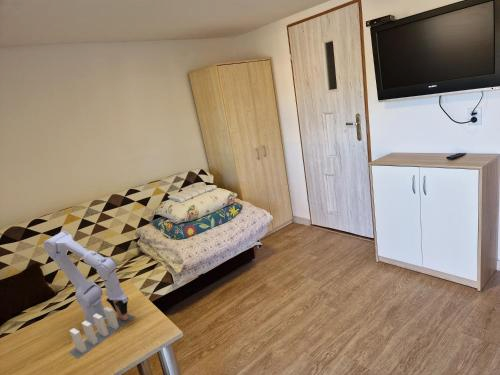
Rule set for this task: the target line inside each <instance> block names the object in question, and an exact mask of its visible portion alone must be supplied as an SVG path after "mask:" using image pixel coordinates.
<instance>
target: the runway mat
mask: <svg viewBox="0 0 500 375" xmlns="http://www.w3.org/2000/svg"><path fill="white" fill-rule="evenodd" d="M127 316H128V318H127V319H126V320H123V319H121V318H118V317H116V319H117V322H118V325H119V327H118V328H117V329H114V328H112V327H110V326H109V324H107V325H106V327H107V330H108V333H109V334H108V335H107V336H106V337H104V336H102V335H101V334H99V333H98V331H97V332H95V335H96V338H97V340H98V342H97V343H96V344H95V345H93V344H92V343H90V342H88V340H87V339H86V340H83V342H84V344H85V347H86V351H85V352H83V353H81V352H80V351H78V350H77V349H76V347H75V346H74V348H73V349H71V350H69V351H68V354H70V355H71V356H73V357H75V358H76V359H77V360H79V359H81V358H82V357H83V356H85V355H87V353H89V352H90V351H91V350H93V349H94V348H96V347H97V346H98V345H99V344H101V343H102V342H104V341H105V340H106V339H108V338H109V337H111V336H112V335H113V334H115V333H116V332H118V331H119V330H120V329H121V328H123V327H125V326H126V325H128V323H130V322H131V321H133V320H134V319H135V318H136V316H134V315H132V314H129V313H127Z"/></svg>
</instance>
